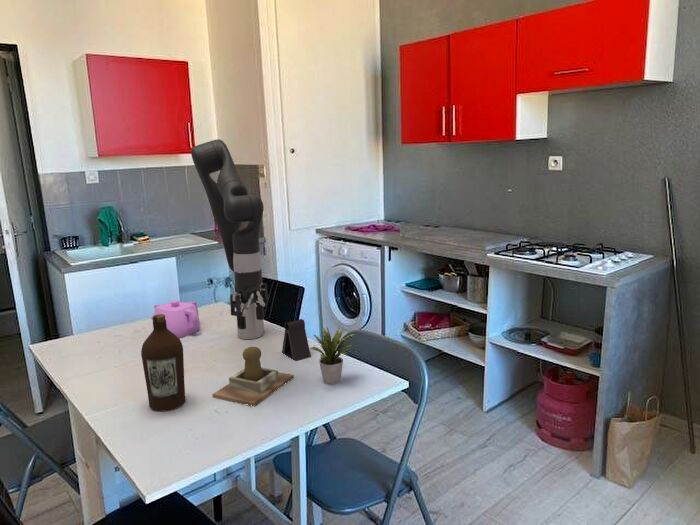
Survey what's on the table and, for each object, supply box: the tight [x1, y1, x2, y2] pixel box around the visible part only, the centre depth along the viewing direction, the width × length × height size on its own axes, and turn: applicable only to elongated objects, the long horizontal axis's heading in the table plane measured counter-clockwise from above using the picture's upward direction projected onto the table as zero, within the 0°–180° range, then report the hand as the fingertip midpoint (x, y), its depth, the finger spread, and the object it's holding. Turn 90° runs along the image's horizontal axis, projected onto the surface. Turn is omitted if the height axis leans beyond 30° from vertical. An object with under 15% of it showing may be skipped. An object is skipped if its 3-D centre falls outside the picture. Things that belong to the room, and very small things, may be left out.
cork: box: [242, 346, 263, 382], centre depth 154 cm, size 6×6×11 cm
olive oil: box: [140, 314, 186, 412], centre depth 144 cm, size 11×11×25 cm
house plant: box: [309, 326, 356, 385], centre depth 156 cm, size 14×14×16 cm
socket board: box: [212, 367, 295, 407], centre depth 155 cm, size 20×14×4 cm
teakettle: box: [150, 299, 201, 339], centre depth 204 cm, size 17×17×12 cm
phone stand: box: [281, 318, 312, 362], centre depth 178 cm, size 9×6×12 cm, turn 36°
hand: (251, 324), depth 151 cm, fingers open, 8 cm apart
